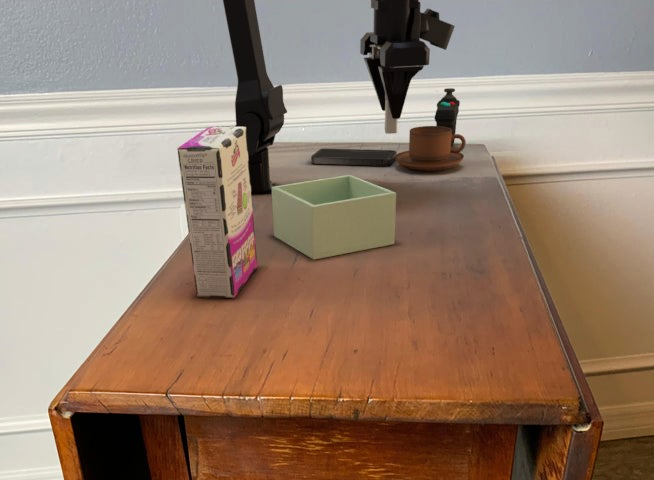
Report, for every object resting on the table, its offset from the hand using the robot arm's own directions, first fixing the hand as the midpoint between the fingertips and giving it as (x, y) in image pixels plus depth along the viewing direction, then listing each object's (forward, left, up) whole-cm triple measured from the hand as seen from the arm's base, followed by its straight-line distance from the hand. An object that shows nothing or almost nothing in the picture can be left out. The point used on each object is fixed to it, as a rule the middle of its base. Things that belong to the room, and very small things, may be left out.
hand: (390, 114), depth 119 cm
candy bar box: (+35, -27, -12) cm, 46 cm away
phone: (-27, -1, -12) cm, 30 cm away
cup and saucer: (-18, +11, -12) cm, 24 cm away
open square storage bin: (+21, -12, -12) cm, 27 cm away
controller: (-32, +18, -12) cm, 39 cm away
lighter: (0, 0, -2) cm, 2 cm away
